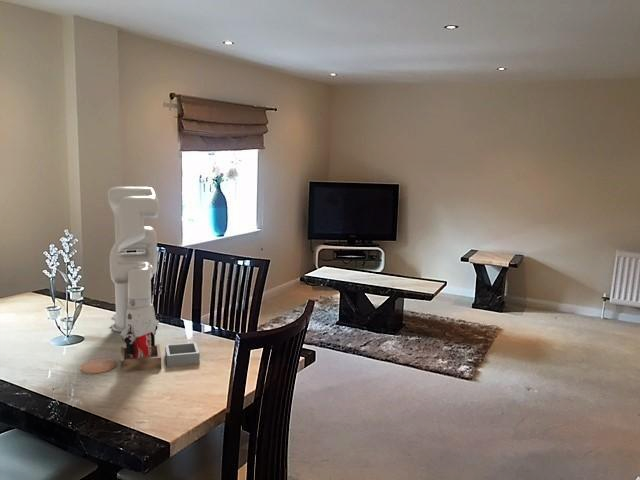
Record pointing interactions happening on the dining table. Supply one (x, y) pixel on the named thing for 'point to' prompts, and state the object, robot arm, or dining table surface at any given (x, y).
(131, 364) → the walnut box
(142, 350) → the soda can
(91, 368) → the coaster
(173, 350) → the grey box
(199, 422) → the dining table surface
